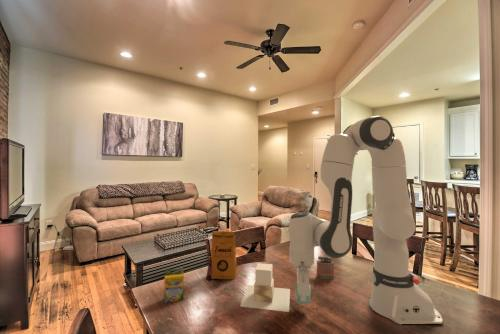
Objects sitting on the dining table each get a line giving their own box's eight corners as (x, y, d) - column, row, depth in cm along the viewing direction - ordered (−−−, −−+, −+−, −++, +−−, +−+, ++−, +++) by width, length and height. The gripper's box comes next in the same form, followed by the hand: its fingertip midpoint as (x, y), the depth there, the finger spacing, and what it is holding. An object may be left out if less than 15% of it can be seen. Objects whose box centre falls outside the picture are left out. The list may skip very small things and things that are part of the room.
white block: (272, 279, 98) (272, 264, 98) (271, 286, 92) (271, 270, 92) (257, 277, 99) (258, 263, 99) (255, 284, 93) (255, 269, 93)
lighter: (333, 276, 116) (333, 255, 116) (334, 279, 112) (335, 258, 112) (316, 275, 117) (316, 254, 116) (317, 278, 113) (317, 257, 113)
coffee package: (235, 283, 109) (235, 234, 109) (208, 281, 111) (208, 233, 110) (239, 273, 119) (239, 228, 118) (214, 271, 120) (214, 227, 120)
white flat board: (290, 291, 102) (290, 289, 102) (289, 314, 86) (289, 311, 86) (248, 287, 105) (248, 284, 105) (239, 308, 90) (239, 306, 90)
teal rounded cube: (309, 295, 90) (309, 282, 90) (311, 304, 85) (311, 290, 85) (294, 295, 91) (294, 281, 91) (295, 303, 85) (295, 289, 85)
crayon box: (164, 303, 93) (164, 273, 93) (164, 298, 96) (164, 270, 96) (183, 300, 95) (183, 271, 95) (183, 296, 98) (183, 267, 98)
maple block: (273, 293, 99) (273, 278, 99) (272, 302, 92) (272, 287, 92) (256, 291, 100) (256, 277, 100) (254, 300, 93) (254, 285, 93)
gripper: (313, 269, 77) (314, 313, 77) (308, 247, 97) (309, 282, 97) (293, 268, 78) (294, 311, 78) (292, 247, 98) (293, 281, 98)
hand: (302, 295), depth 88 cm, fingers closed on teal rounded cube, 5 cm apart
